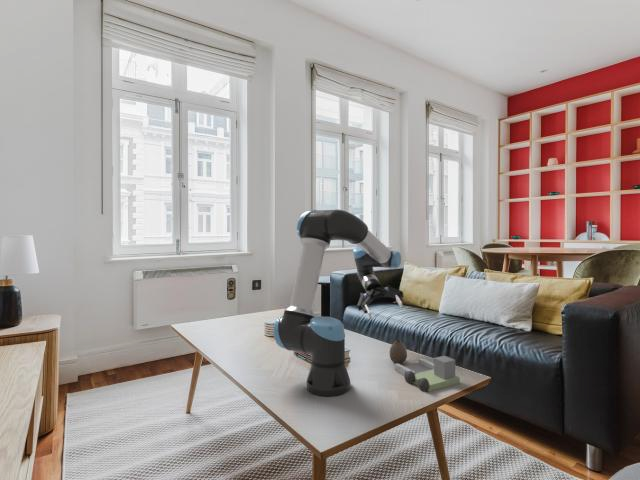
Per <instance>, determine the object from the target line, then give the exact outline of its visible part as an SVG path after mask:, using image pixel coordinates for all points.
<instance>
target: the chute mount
mask: <svg viewBox="0 0 640 480" xmlns="http://www.w3.org/2000/svg"><path fill="white" fill-rule="evenodd" d="M432 369H434V362H431V361H429V360H427V359H425V358H421V357H420V358H418V362H416V363H415V362H414V363H410V364H406V365H403V364H398V363H397V364H395V363H394V371H395V372H397V373H398V374H401V375H402V376H404V374H405V372H407V371H412V372H413V373H414V374H416V373H420V372H424V371H428V370H432Z"/></svg>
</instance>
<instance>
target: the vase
mask: <svg viewBox="0 0 640 480" xmlns="http://www.w3.org/2000/svg"><path fill="white" fill-rule="evenodd" d="M389 358H390V360H391V362H392V363H394V365H395V364H397V363H398V364H400V365H403V364H404V363H405V362H406V360H407V358H408V350H407V347H406V346H405V345H404V343H403V342H402V340H400V339H396V340H394V342H393V344H392V345H391V346H390V348H389Z"/></svg>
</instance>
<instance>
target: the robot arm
mask: <svg viewBox="0 0 640 480" xmlns="http://www.w3.org/2000/svg"><path fill="white" fill-rule="evenodd" d="M296 230H297V232H296V233H297V236H298V237H299V238H300V240H299V241H300V243H301V245H302V247H301V252H300V253H301V254H300V257H299V262H298V267H297V271H296V275H295V281H294V284H293V289H292V294H291V299H290V303H289V306H288V307H286V308H285V309H284V311H283V315H279V316H278V318H277V319H276V320H275V322H274V326H273V338H274V340H275V343H276V345H277V346H278V347H280V348H281V349H284V350H287V351H290V352H291V351H292V352H297V353H303V354H307V355H310V368H309V370H308V375H307V378H306V390H307V391H308V392H309V393H311V394H313V395H316V396H321V397H334V396H335V397H336V396H340V395H341V396H342V395H343V394H345V393H347V392H349V390H351V378H350V376H349V373H348V369H347V367H346V362H345V361H346V349H345V348H346V346H345V345H346V342H345V341H346V334H345V326H344V323H343V322H342V321H341V320H339V319H338V318H334V317H331V316H323V315H321V316H320V315H319V316H316V315H315V313H314V312H313V310H314V304H315V300H316V295H317V294H316V293H317V289H318V284H319V279H320V275H321V270H322V269H321V268H322V265H323V261H324V256H325V251H326V250H327V249H328V248H330V245H331V241H346V242H348V243H349V244H352V245H356V247H354V248H353V250H352V253H353V259H354V263H355V266H356V273H357V274H356V275H357V278H358V280H359V281H360V283H361V285H362V287H363V289H364V291H365V293H364V292H360V293H359V294H360V295H359V296H360V297H359V300H358V303H357V304H356V306H357V310H358V311H362V312H363V313H364V314H367V315H368V318H369V319H372V314H371V311H370V309H369V306H370V304H371V303H372V302H373V301H374V300H377V299H379V298H390V299H391V298H392V299H393V300H394V299H395V300H396V303H397V304H398V306H399V307H400V309H404V305H403V298H404V292H403V291H402V290H401V289H398V288H395V287H393V286H391V285H390V284H386V287H383V285H382V283H381V282H380V281H379V279H378V277H377V276H376V274H375V271H374V268H386V269H387V268H388V269H397V268H399V267H400V266H401V263H402V255H401V253H400V251H397V250H390V249H389V248H388V247H387V246H386V245H385V244H384V243H383V242H382V241H381V240H380V239H379V238H377V237H376V235H374V234H373V232H371V231H370V230H369V227H368V225H367V224H366V223H365V221H363V220H362V219H361V218H359V217H357V216H356V215H354V214H353V213H351V212H349V211H347V210H343V209H322V210H320V209H319V210H318V209H313V210H309V211H308V210H307V211H305V212H303V213H302V214H301V215H300V217H299V218H298V220H297V225H296Z"/></svg>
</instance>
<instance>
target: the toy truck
mask: <svg viewBox="0 0 640 480" xmlns="http://www.w3.org/2000/svg"><path fill="white" fill-rule="evenodd" d="M433 363H434V369H432V370H428V371H424V372H420V373H416V374H414V373H413V372H412V371H407V372H405V374H404V375H403V376H404V380H405V382H406V383H407V384H414V385H416V386H417V387H418V388H419V390H420V391H421V392H426V391H427V392H432V391H435V390H439V389H442V388H447V387H449V386H453V385H457V383H458V384H461V383H460V382H461V381H460V380H461V378H460V377H459V376H457V375H456V359H454V358H453V357H452V358H451V357H449V356H446V355H442V356H436V357H434V358H433Z"/></svg>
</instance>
